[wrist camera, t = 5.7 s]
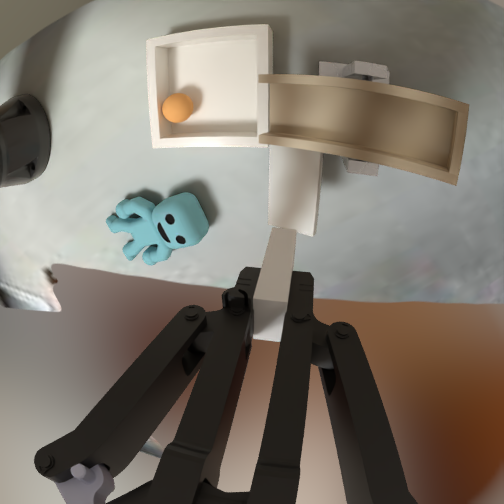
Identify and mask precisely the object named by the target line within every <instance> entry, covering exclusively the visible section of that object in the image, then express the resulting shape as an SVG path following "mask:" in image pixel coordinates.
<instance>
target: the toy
mask: <svg viewBox="0 0 504 504" xmlns="http://www.w3.org/2000/svg"><path fill="white" fill-rule="evenodd" d="M116 213H117V215H118V216H119V217H120V218H117V217H116V216H114V215H111V216H109V217H108V218H107V219H106V223H107V225H108V227H109V229H110V230H111V232H113V233H117V232H121V231H124V232H128V233H131V235H132V236H133V238H134V241H132V242H129V243H127V244H126V245H125V246H124V247H123V252H124V254H125V256H126V257H127V259H128V260H130V261H131V260H133V259H134V258H135V257H136V254H138V253H139V252H140V251H141V250H142V249H143V248H144V247H145V246H148V245H152V244H157V245H158V247H157V248H156V247H154V246H151V247H149V248H147V249H146V250H145V251H144V253H143V256H142V257H143V260H144V262H145V263H146V264H148V265H154V264H156V263H157V262H159V261H165V260H167V259H168V258H169V257H170V256H171V253H172V250H173V249H178V248H183V247H188V246H193V245H196V244H198V243H199V242H200V241H201V240H202V238H203V237H204V236H205V235H206V234H207V232H208V228H209V224H208V221H207V218H206V216H205V214H204V212H203V210H202V208H201V206H200V204H199V202H198V200H197V198H196V197H195V196H194V195H193V194H191V193H188V192H184V193H180V194H178V195H175V196H172V197H169V198H166V199H164V200H163V201H162V202H161V203H159V204H158V205H157V206H155V205H154V203H152V202H150V201H148V200H146V199H144V198H142V197H136V198H133V199H131V200H129V199H125V200H123V201H121V202H120V203H119V204H118V205H117V206H116ZM133 213H136V214H138V215H139V216H141V217H139V218H136V219H135V218H129V216H131V215H132V214H133Z"/></svg>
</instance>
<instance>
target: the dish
mask: <svg viewBox="0 0 504 504" xmlns="http://www.w3.org/2000/svg"><path fill="white" fill-rule="evenodd" d="M146 59H147V84H148V101H149V114H150V126H151V137H152V147H153V148H170V147H215V146H217V147H263V148H268V147H269V144H260V143H259V135H260V134H263V133H267V132H270V83H258V74H273V31H272V29H271V28H270V26H269V25H268V24H257V25H238V26H225V27H216V28H207V29H200V30H193V31H186V32H181V33H175V34H170V35H165V36H160V37H156V38H151V39H147V40H146ZM175 93H182V94H185V95H187V96H189V97H190V99H191V100H192V102H193V112H192V114H191V116H190V117H189V118H188V119H187V120H185V121H183V122H180V123H174V122H171V121H169V120H167V119H166V118H165V116H164V115H163V111H162V107H163V103H164V101H165V100H166V99H167V98H168V97H169V96H170V95H172V94H175Z"/></svg>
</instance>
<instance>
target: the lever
mask: <svg viewBox="0 0 504 504" xmlns="http://www.w3.org/2000/svg"><path fill="white" fill-rule="evenodd" d="M258 83H270V132H267V133H263V134H260V135H259V143H260V144H269V203H268V224H269V225H272V226H276V227H280V228H285V229H296V230H297V232H298V233H301V234H305V235H309V236H312V237H313V236H314V235H315V234H316V228H317V219H318V210H319V200H320V190H321V178H322V166H323V153H328V154H334V155H339V156H344V157H349V158H354V159H359V160H363V161H368V162H372V163H377V164H381V165H385V166H389V167H393V168H397V169H401V170H405V171H409V172H412V173H416V174H419V175H423V176H426V177H430V178H433V179H436V180H440V181H443V182H446V183H449V184H452V185H455V186H456V184H457V180H458V175H459V171H460V166H461V160H462V155H463V149H464V143H465V136H466V129H467V120H468V111H469V104H466V103H463V102H460V101H456V100H453V99H450V98H446V97H443V96H439V95H435V94H431V93H427V92H423V91H419V90H415V89H410V88H406V87H401V86H396V85H390V84H385V83H379V82H372V81H365V80H358V79H350V78H340V77H330V76H316V75H295V74H258Z"/></svg>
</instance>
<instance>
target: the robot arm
mask: <svg viewBox="0 0 504 504" xmlns="http://www.w3.org/2000/svg"><path fill="white" fill-rule="evenodd" d="M49 153H50V132H49V125H48V121H47V118H46V115H45V112H44V110H43V108H42V106H41V104H40V103H39V102H38V101H37V99H35V98H34V97H33V96H31V95H27V94H24V95H20V96H16V97H13V98H11V99H9V100H8V101H6V102H5V103H3V104H2V105H1V106H0V188H1V187H7V186H14V185H20V184H26V183H29V182H31V181H32V180H34V179H36V178H38V177H39V176H40V175H41V174H42V173H43V171H44V170H45V168H46V165H47V162H48V159H49ZM296 232H297V230H296V229H285V228H272V231H271V235H270V239H269V242H268V246H267V249H266V253H265V257H264V260H263V264H262V268H254V267H245V268H244V269H243V270H242V271H241V272H240V274H239V277H238V280H237V282H236V285H235V287H233V288H230V289H227V290H226V291H224V292H223V294H222V303H223V309H221V310H218V311H212V312H205V310H204V309H203V308H202V307H200V306H197V305H189V306H186V307H184V308H182V309H181V310H180V311H179V312H178V313H177V314H176V316H175V317H174V318H173V319H172V320H171V321H170V322H169V323H168V324H167V326H166V327H165V328H164V329H163V330H162V331H161V332H160V333H159V335H158V336H157V337H156V338H155V339H154V340H153V341H152V342H151V343H150V344H149V346H148V347H147V348H146V349H145V350H144V351H143V352H142V353H141V355H140V356H139V357H138V358H137V359H136V360H135V361H134V362H133V364H132V365H131V366H130V367H129V368H128V369H127V370H126V372H125V373H124V374H123V375H122V376H121V377H120V378H119V379H118V381H117V382H116V383H115V384H114V385H113V386H112V388H111V389H110V390H109V391H108V392H107V393H106V394H105V396H104V397H103V398H102V399H101V400H100V401H99V402H98V404H97V405H96V406H95V407H94V408H93V409H92V410H91V411H90V413H89V414H88V415H87V416H86V417H85V419H84V420H83V421H82V422H81V423H80V424H79V426H77V428H76V429H75V430H74V431H72V432H70V433H68V434H67V435H65V436H63V437H61V438H59V439H57V440H56V441H54V442H52V443H50V444H48V445H46V446H44V447H42V448H41V449H40V450H38V451H37V453H36V455H35V459H34V463H35V467H36V469H37V471H38V472H39V473H40V474H41V475H43V476H44V477H46V478H48V479H50V480H52V481H54V482H55V483H56V485H57V487H58V489H59V491H60V493H61V495H62V496H63V498H64V500H65V502H66V504H105V500H106V498H107V496H108V495H109V494H110V493H111V492H113V491H114V489H115V486H114V479H113V478H114V477H116V476H117V475H118V474H119V473H121V472H122V471H123V470H124V469H125V468H126V467H127V466H128V465H129V463H130V462H131V461H132V460H133V459H134V457H135V456H136V455H137V453H138V452H139V451H140V449H141V448H142V447H143V445H144V444H145V443H146V441H147V440H148V439H149V437H150V436H151V435H152V433H153V432H154V431H155V429H156V428H157V427H158V425H159V424H160V423H161V421H162V420H163V419H164V417H165V416H166V415H167V413H168V412H169V411H170V409H171V408H172V406H173V405H174V404H175V402H176V401H177V400H178V398H179V397H180V395H181V394H182V393H183V391H184V390H185V389H186V387H187V386H188V384H189V383H190V382H191V380H192V379H193V377H194V376H195V375H196V373H197V372H198V371H199V369H200V371H199V373H198V376H197V379H196V381H195V384H194V387H193V389H192V392H191V395H190V398H189V400H188V403H187V406H186V408H185V411H184V414H183V417H182V419H181V422H180V425H179V427H178V430H177V433H176V436H175V438H174V440H173V442H171V443H170V444H168V445H167V447H166V448H165V450H164V452H163V454H162V457H161V459H160V462H159V465H158V468H157V470H156V473H155V476H154V478H153V480H151V481H149V482H147V483H145V484H143V485H141V486H139V487H138V488H136V489H134V490H132V491H130V492H128V493H126V494H124V495H122V496H120V497H118V498H116V499H114V500H112V501H110V502H108V503H106V504H295V503H296V497H297V491H298V485H299V479H300V458H301V451H302V444H303V437H304V428H305V419H306V410H307V401H308V390H309V379H310V367H311V364H314V365H316V366H318V368H319V372H320V377H321V381H322V385H323V389H324V394H325V398H326V403H327V407H328V412H329V416H330V420H331V425H332V429H333V434H334V439H335V444H336V448H337V454H338V459H339V464H340V468H341V474H342V479H343V484H344V489H345V495H346V501H347V504H418V503H417V502H416V500H415V499H414V498H413V497H412V495H411V494H410V493H409V491H408V488H407V483H406V480H405V476H404V472H403V468H402V465H401V461H400V458H399V454H398V451H397V447H396V444H395V441H394V437H393V434H392V431H391V428H390V424H389V421H388V418H387V415H386V412H385V409H384V406H383V403H382V400H381V397H380V394H379V391H378V388H377V385H376V383H375V380H374V377H373V374H372V371H371V369H370V366H369V363H368V360H367V358H366V355H365V352H364V350H363V347H362V345H361V342H360V339H359V337H358V334H357V332H356V330H355V328H354V327H353V326H352V325H350V324H348V323H345V322H336V323H333V324H332V325H330V326H329V325H326V324H324V323H321V322H320V321H318V320H317V319H316V318H315V316H314V314H313V291H314V278H313V276H312V275H311V273H310V272H300V271H293V267H294V256H295V244H296ZM252 337H253V338H254V339H260V340H268V341H276V342H280V347H279V353H278V359H277V365H276V371H275V377H274V382H273V387H272V393H271V398H270V403H269V409H268V414H267V419H266V424H265V429H264V434H263V439H262V443H261V448H260V453H259V457H258V461H257V464H256V468H255V472H254V477H253V481H252V485H251V490H250V492H231V493H230V492H229V493H228V492H223V491H221V490H219V489H217V485H218V481H219V476H220V467H221V463H222V459H223V455H224V452H225V448H226V444H227V441H228V437H229V433H230V430H231V426H232V422H233V418H234V414H235V410H236V407H237V402H238V399H239V395H240V391H241V387H242V383H243V379H244V375H245V372H246V367H247V363H248V359H249V355H250V351H251V347H252V345H251V341H252Z"/></svg>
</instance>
